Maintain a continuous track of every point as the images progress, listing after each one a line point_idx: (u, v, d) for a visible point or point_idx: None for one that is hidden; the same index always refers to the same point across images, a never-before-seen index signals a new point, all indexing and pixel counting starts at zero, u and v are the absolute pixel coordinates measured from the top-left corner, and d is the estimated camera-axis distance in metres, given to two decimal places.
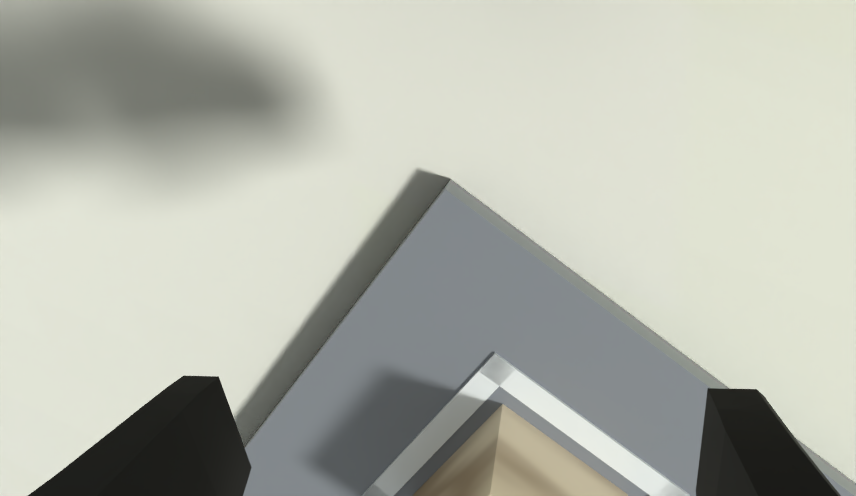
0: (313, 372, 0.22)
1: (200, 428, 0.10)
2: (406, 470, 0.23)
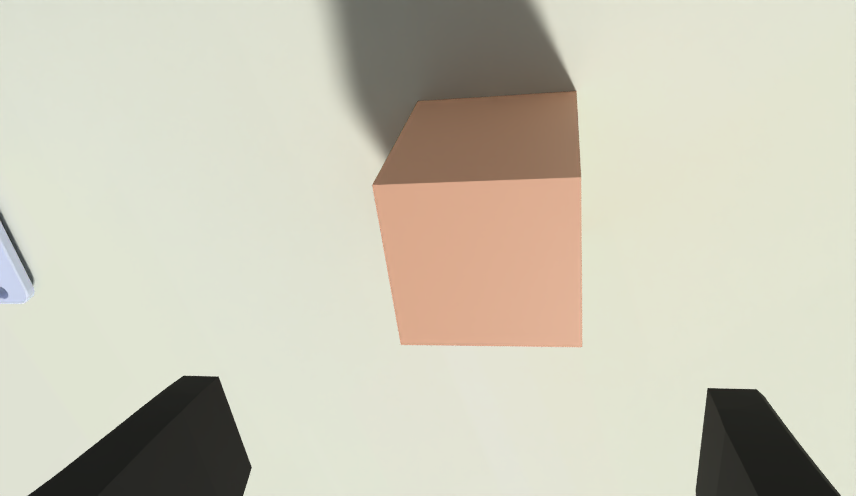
0: None
1: (200, 428, 0.10)
2: None
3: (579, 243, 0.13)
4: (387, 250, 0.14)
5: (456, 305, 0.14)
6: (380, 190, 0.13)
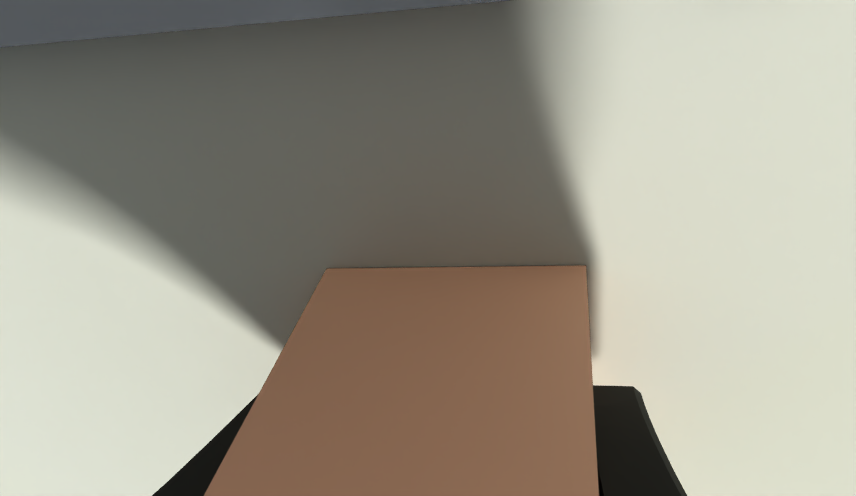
0: None
1: None
2: None
3: None
4: None
5: None
6: None
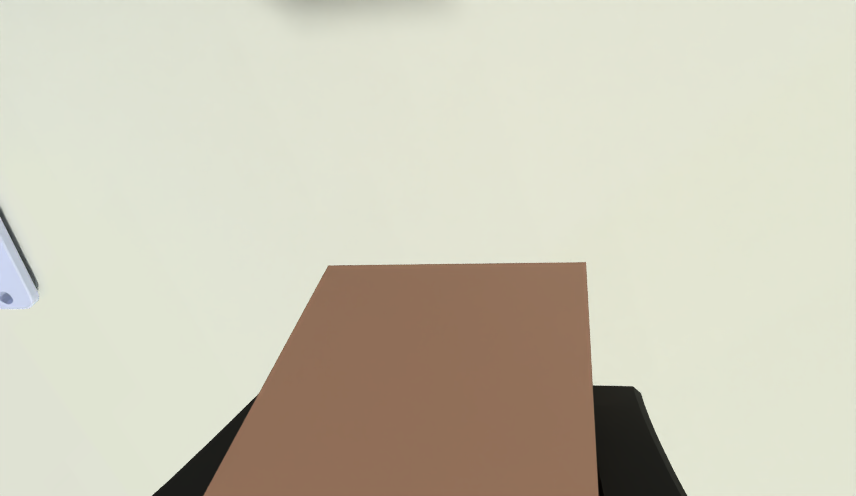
0: None
1: None
2: None
3: None
4: None
5: None
6: None
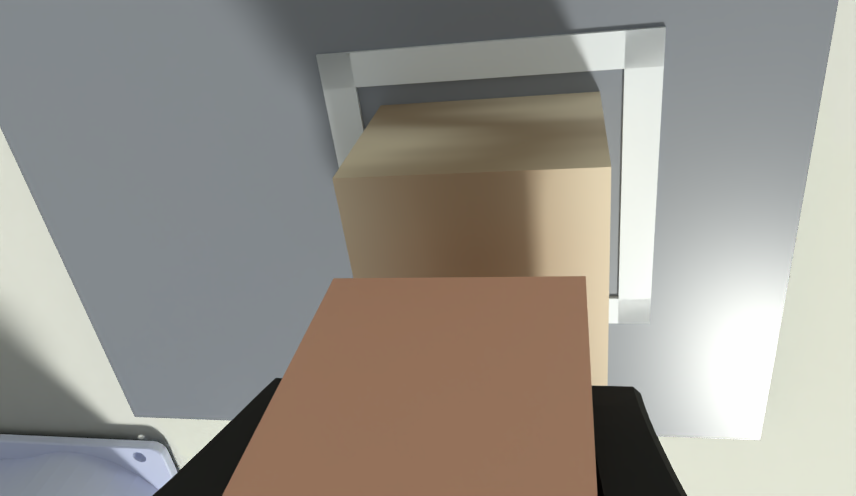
0: None
1: None
2: (408, 71, 0.15)
3: None
4: None
5: None
6: None
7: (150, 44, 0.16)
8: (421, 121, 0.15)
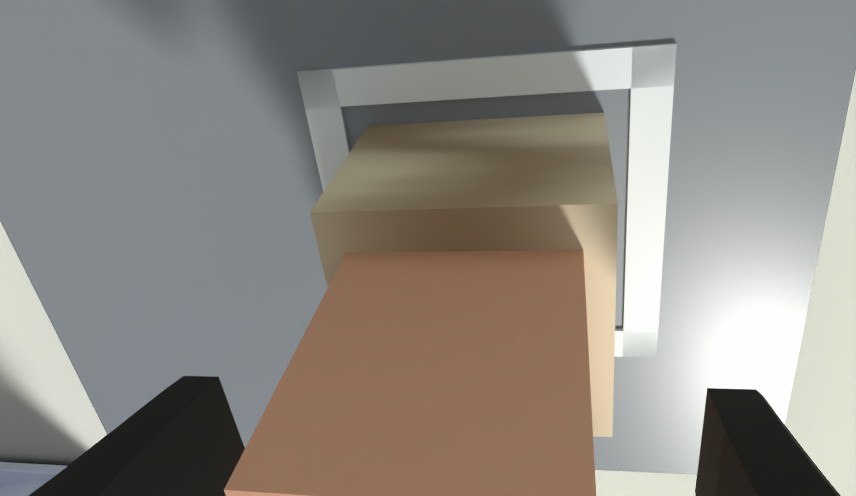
0: None
1: (200, 428, 0.10)
2: (396, 89, 0.14)
3: None
4: None
5: None
6: None
7: (119, 59, 0.15)
8: (409, 145, 0.13)
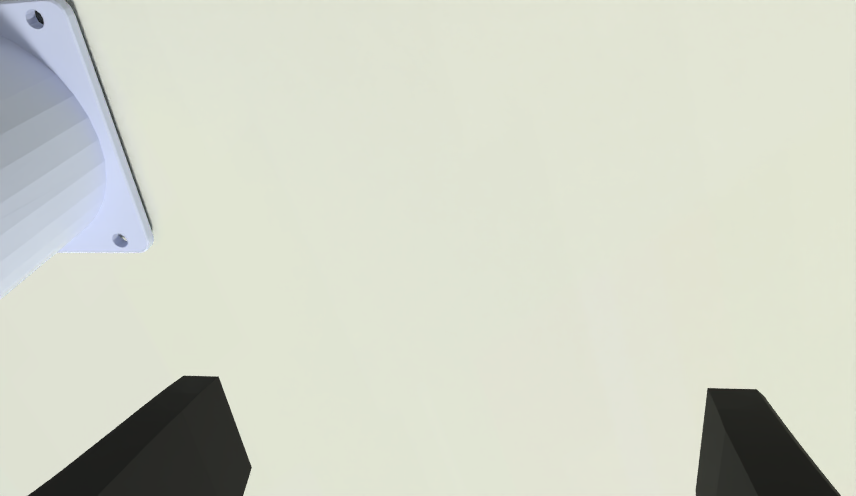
0: None
1: (200, 428, 0.10)
2: None
3: None
4: None
5: None
6: None
7: None
8: None
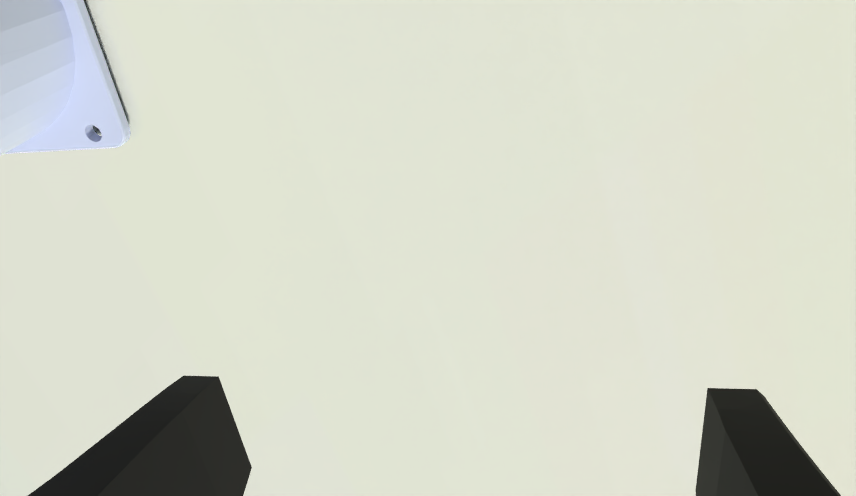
0: None
1: (200, 428, 0.10)
2: None
3: None
4: None
5: None
6: None
7: None
8: None
